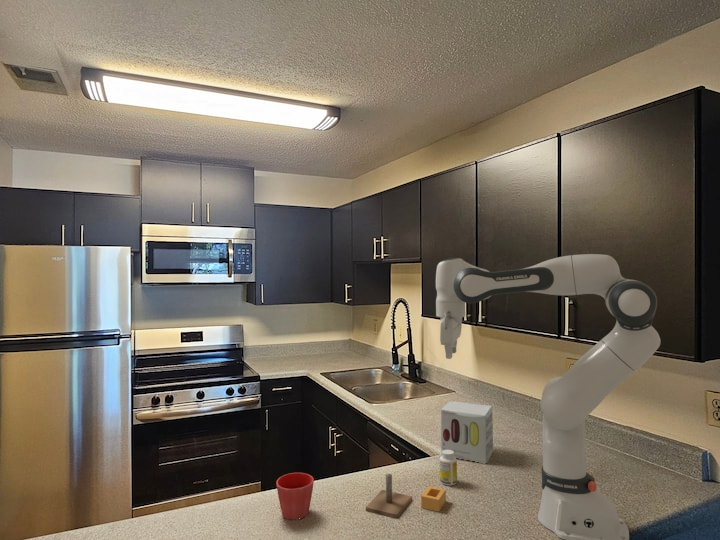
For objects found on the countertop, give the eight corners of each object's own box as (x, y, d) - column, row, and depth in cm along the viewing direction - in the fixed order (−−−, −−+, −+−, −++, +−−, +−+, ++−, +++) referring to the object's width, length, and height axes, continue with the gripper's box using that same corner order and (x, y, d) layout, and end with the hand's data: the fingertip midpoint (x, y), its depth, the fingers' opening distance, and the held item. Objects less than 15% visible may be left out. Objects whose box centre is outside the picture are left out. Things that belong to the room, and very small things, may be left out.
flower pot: (317, 519, 132) (317, 485, 132) (278, 526, 128) (278, 491, 129) (310, 501, 142) (310, 470, 142) (274, 507, 139) (274, 475, 139)
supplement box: (440, 457, 174) (439, 409, 175) (450, 445, 186) (449, 400, 186) (486, 465, 167) (485, 415, 167) (494, 452, 178) (493, 405, 178)
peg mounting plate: (411, 499, 142) (411, 470, 142) (397, 518, 131) (396, 486, 131) (382, 492, 147) (381, 464, 147) (365, 510, 136) (365, 480, 136)
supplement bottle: (454, 478, 156) (453, 448, 156) (459, 485, 151) (458, 454, 151) (438, 479, 156) (437, 448, 156) (442, 486, 150) (442, 455, 150)
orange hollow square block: (445, 500, 141) (445, 489, 141) (438, 511, 135) (438, 499, 135) (428, 497, 143) (428, 486, 143) (421, 507, 137) (421, 496, 137)
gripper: (456, 313, 131) (457, 362, 131) (464, 308, 151) (465, 350, 150) (434, 313, 133) (435, 361, 133) (445, 308, 153) (445, 349, 153)
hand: (451, 355), depth 142 cm, fingers open, 8 cm apart
